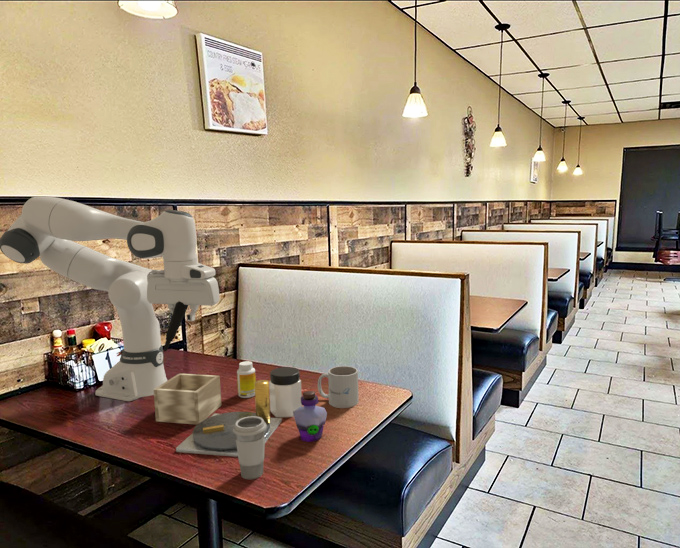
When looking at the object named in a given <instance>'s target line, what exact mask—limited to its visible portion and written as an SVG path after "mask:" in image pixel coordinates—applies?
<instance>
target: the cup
mask: <svg viewBox="0 0 680 548" xmlns="http://www.w3.org/2000/svg"><path fill="white" fill-rule="evenodd" d="M266 427H267V425H266V423H265V422H264V420H263V419H262V418H261V417H257V416H249V417H244V418H241V419H239V420H238V421H236V423H235V426H234V428H233V432H234V433H235V434H236V445H237V453H238V457H237V458H238V463H239V467H240V475H241V478H243V479H245V480H255V479H258V478H260V477H262V475H264V461H265V445H266V443H265V433H264V430H265V429H266Z"/></svg>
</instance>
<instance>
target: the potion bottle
mask: <svg viewBox="0 0 680 548" xmlns="http://www.w3.org/2000/svg"><path fill="white" fill-rule="evenodd" d="M316 393H317V392H316V391H314V390H308V391H304V392H302V397H301V404H302V407H300V408H298V409H296V410H295V411H293V414H294V416H293V418H294V422H295V424H296V425H295V426H296V428H297V430H298V433H299V434H298V435H299V437H300V440H301V441H303V442H307V443H311V442H316V441H319V440H320V439H322V437H323V431H324V427H325V425H326V420H327V416H328V412H327V411H326V409H325V408H326V407H324V406H318V404H319V397H318V395H316Z"/></svg>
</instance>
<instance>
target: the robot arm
mask: <svg viewBox="0 0 680 548" xmlns="http://www.w3.org/2000/svg"><path fill="white" fill-rule="evenodd" d="M197 238H198V237H197V229H196V223H195V220H194V217H193V215H192V214H190V213H189V212H187V211H182V210H174V209H167V210H163V212H161V214H159V215H158V216H156V217H155V218H153V219H151V220H148V221H141V220H137V219H133V218H127V217H124V216H119V215H115V214H113V213H110V212H107V211H104V210H101V209H97V208H96V207H95V208H94V207H92V206H90V205H87V204H83V203H81V202H77V201H74V200H71V199H70V200H69V199H67V198H66V199H65V198H61V197H57V196H56V197H55V196H41V195H40V196H38V195H37V196H32V197H31V198H29V199H28V200H27V201H26V202H24V204H23V206H22V209H21V214H20V215H19V216H18V217H17V219H16V220H15V221H14V222H13V223H12V224H11V225H10V227H9V228H8V229H7V230H6V231H4V232H3V233H2V235H1V237H0V252H2V255H4V256H5V257H7V258H8V259H10V260H11V261H13V262H16V263H18V264H23V265H24V264H30V263H32V262H33V261H35V260H36V259H38V258H40V261H41V263H42V264H43V265H44V266H45V267H46V268H49V269H50V270H51V271H54V272H55V273H56V274H59V275H61V276H63V277H65V278H67V279H70V280H71V281H74V282H77V283H78V284H81V285H83V286H85V287H88V288H91V289H93V290H98V291H103V292H107V293H108V294H107V296H108V299H109V301H110V302H111V304H112V306H114V307H115V310H116V312H117V313H116V314H117V315H118V319H119V321H120V325H121V331H122V333H121V334H122V340H123V349H122V350H120V351H118V352H116V353H115V354H116V357H120V359H119V361H118V362H117V363H115V364H114V365H113V366H112V367H111V368H110V369H108V370H107V371H106V372H105V373H104V375H103V379H102V385H101V386H100V387H98V388H97V389H96V390H95V392H94V393H95V396H98V397H103V398H108V399H112V400H113V399H114V400H119V401H124V402H131V401H136V400H139V398H145V397H150V396H154V389H155V388H157V387H158V386H160V385H162V384H163V383H165V382H166V381H168V378H167V375H166V371H165V367H164V347H163V346H164V345H162V341H161V330H160V329H161V327H160V321H159V320H158V318H157V316H156V314H155V309H154V306H153V304H154V305H168V306H167V309H168V310H169V311H170V313H171V314H172V315H173V311H174V308H175V305H176V303H177V302H179V301H180V302H182V303H183V304H184V305H188V306H189V309H190V310H191V311H190V313H187V314H186V320H187V321H188V322H193V321H195V320H196V313H197V311H198V310H199V306H208V307H209V306H210V307H212V306H215V305H217V304H218V303H219V301H220V288H219V283H218V280H217V279H216V277H214V276H216V269H215V268H214V267H211V266H208V265H205V264H202V263H201V262H199V259H198V255H197V251H196V249H197V245H198V243H197V241H198V240H197ZM108 239H109V240H110V239H119V240H124V241H125V240H126V244H127V247H128V249H129V251H130V253H132V255H133V256H134V257H136V258H139V259H145V260H147V259H154V258H155V259H156V258H160V257H162V259H163V269H159V270H157V269H152V268H147V267H144V266H141V265H138V264H135V263H133V262H128V261H125V260H122V259H121V260H120V259H118V258H114V257H111V256H110V255H107V254H105V253H101V252H100V251H98V250H96V249H93V248H91V247H88V246H86V245H83V244H80V243H77V242H89V241H96V240H97V241H98V240H108Z"/></svg>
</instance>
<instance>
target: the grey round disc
mask: <svg viewBox="0 0 680 548" xmlns="http://www.w3.org/2000/svg"><path fill="white" fill-rule="evenodd" d="M269 381H270V380H268V379H260V380H256V382H255V383H254V384H255V396H254V401H255V412H252V411H230V412H224V413H218V414H219V415H215V416H212V415H211V416H212V417H211V416H209V417H208V418H207V419H205V420H203V421H202V422H200V423H199V424H198V425H195V426H194V428H193V430H192V433H193V440H194V442H195V443H196V444H198V445H199V446H201V447H204V448H208V449H214V450H229V449H237V445H236V434H235V433H234V432H233V428H234V426H235V423H236V421H238V420H239V419H241V418H244V417H249V416H257V417H261V418H262V419H263V420H264V422H265V423H266V425H267V427H266V429H265V430H264V433H265V436H266V435H267V434H268V433H269V431H270V422H271V421H270V418H271V410H270V388H269Z"/></svg>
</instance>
